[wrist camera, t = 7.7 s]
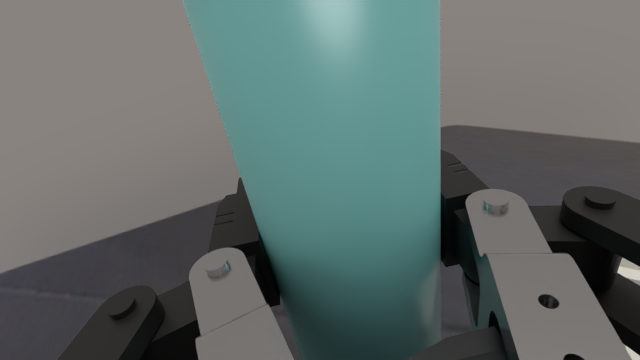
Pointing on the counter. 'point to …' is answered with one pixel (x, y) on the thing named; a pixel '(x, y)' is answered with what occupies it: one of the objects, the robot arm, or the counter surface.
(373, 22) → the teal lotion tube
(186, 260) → the counter surface
